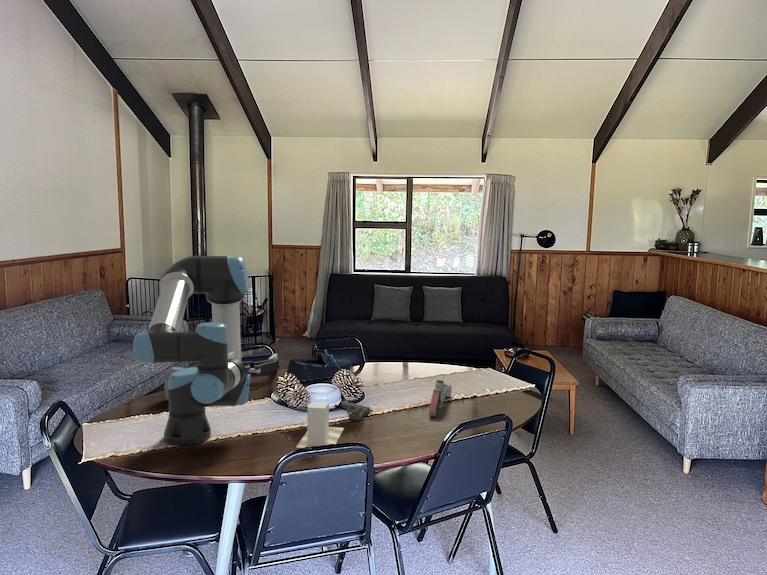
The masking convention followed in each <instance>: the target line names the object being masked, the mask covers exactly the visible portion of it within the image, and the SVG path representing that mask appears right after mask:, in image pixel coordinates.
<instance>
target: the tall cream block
mask: <svg viewBox="0 0 767 575" xmlns="http://www.w3.org/2000/svg"><path fill="white" fill-rule="evenodd" d="M329 415H330V402H318V401H316V402H315V401H311V402H310V404H309V405H308V406H307V417H306V418H307V419H306V420H307V421H306V422H307V429H306V432H307V445H316V446H321V445H326V443H327V441H328V440H329V427H330V426H329V424H330V423H329V422H330V420H329V419H330V416H329Z"/></svg>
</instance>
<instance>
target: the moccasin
mask: <svg viewBox="0 0 767 575" xmlns="http://www.w3.org/2000/svg"><path fill="white" fill-rule="evenodd" d="M324 353H325V354H324ZM324 353H322V352H317V353H315V354H314V358H290V359H289V362H288V364H287V370H286V372H287V373H291V374H294V375H295V376H296V377H297V379H298V380H300V381H304V382H306V381H305V380H310V381H312V380H311V379H319V378H328V379H331V378H330V377H332V376H333V375H334V374H335V373H336V372H338V371H339V370H342V369H346V370H350V371H351V370H352V361H351V360H350V359H347V358H338V359H335V358H334V355H333V354H329V352H328V351H327V349H324Z"/></svg>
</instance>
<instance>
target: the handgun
mask: <svg viewBox="0 0 767 575" xmlns="http://www.w3.org/2000/svg"><path fill="white" fill-rule="evenodd" d="M341 406H342V407H343V408H345V409H344V410H346V411H347V412H348V413H349V414H348V418H349V419H350V420H351V419H352V420H357V421H360V420H361V419H362V418H363V417H364V416H369V415H370V413H373V412H374V410H373V409H371V407H370V406H366V405H362V404H357V403H353V402H350V401H344V400H341ZM342 407H341V408H342ZM343 408H342V409H343Z"/></svg>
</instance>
